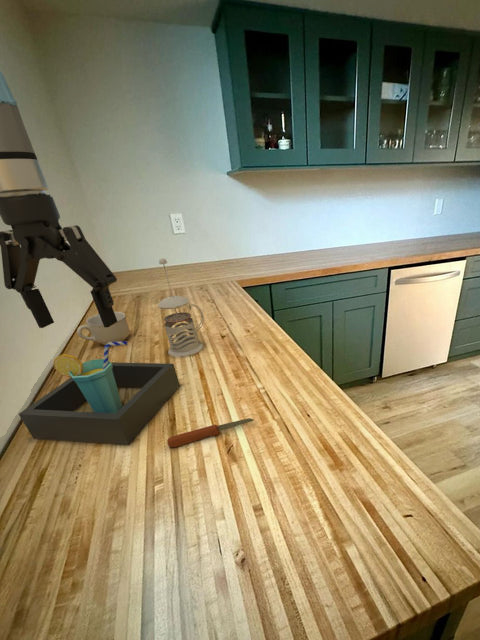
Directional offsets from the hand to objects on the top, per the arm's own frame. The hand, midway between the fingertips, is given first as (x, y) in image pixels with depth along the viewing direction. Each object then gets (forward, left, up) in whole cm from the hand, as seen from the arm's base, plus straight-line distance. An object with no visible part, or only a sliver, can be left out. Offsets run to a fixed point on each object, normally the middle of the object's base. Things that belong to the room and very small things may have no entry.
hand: (78, 325), depth 62 cm
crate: (0, 0, -19) cm, 19 cm away
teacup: (-25, +33, -20) cm, 46 cm away
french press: (+3, +30, -20) cm, 36 cm away
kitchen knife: (+25, -6, -20) cm, 32 cm away
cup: (0, 0, -20) cm, 20 cm away
